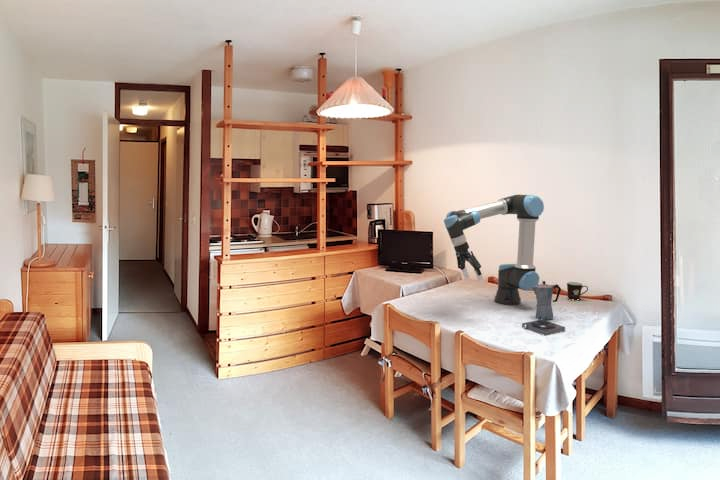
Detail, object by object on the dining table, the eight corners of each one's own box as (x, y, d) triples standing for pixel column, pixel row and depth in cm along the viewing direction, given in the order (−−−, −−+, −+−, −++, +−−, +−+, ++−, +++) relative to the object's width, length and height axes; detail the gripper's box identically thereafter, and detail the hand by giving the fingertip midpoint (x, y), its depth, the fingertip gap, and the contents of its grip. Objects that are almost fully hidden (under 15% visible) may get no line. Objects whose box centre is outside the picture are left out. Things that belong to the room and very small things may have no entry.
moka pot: (526, 315, 252) (528, 279, 249) (554, 314, 253) (556, 278, 250) (534, 320, 242) (536, 283, 240) (563, 320, 243) (565, 282, 241)
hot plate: (541, 323, 238) (542, 318, 238) (565, 330, 226) (565, 326, 226) (520, 327, 231) (520, 322, 231) (543, 335, 219) (543, 330, 219)
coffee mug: (565, 300, 285) (565, 284, 283) (567, 297, 292) (568, 281, 291) (585, 302, 279) (586, 286, 277) (587, 299, 286) (588, 283, 285)
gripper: (443, 247, 257) (457, 282, 259) (466, 245, 234) (481, 284, 235) (454, 242, 260) (468, 276, 261) (478, 239, 236) (493, 278, 237)
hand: (474, 280), depth 248 cm, fingers open, 13 cm apart
